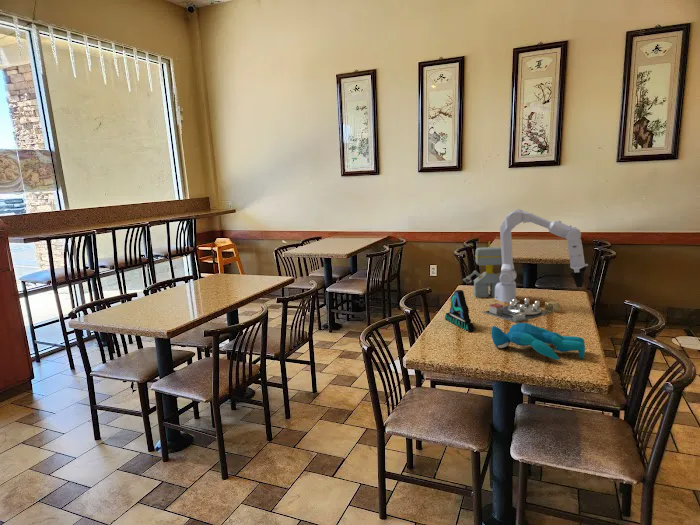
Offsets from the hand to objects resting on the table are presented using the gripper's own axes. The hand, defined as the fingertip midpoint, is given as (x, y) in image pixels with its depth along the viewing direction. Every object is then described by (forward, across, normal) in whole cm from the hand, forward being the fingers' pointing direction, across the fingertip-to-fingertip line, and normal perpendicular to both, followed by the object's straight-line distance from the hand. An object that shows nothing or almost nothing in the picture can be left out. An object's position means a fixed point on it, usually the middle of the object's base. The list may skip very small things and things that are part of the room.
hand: (580, 285), depth 203 cm
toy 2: (+9, -60, +11) cm, 62 cm away
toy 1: (+4, +8, +43) cm, 44 cm away
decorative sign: (+4, -43, +43) cm, 61 cm away
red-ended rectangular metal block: (+5, -24, +32) cm, 40 cm away
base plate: (+7, -19, +24) cm, 32 cm away
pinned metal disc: (+7, -16, +22) cm, 28 cm away
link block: (+9, -9, +12) cm, 17 cm away
